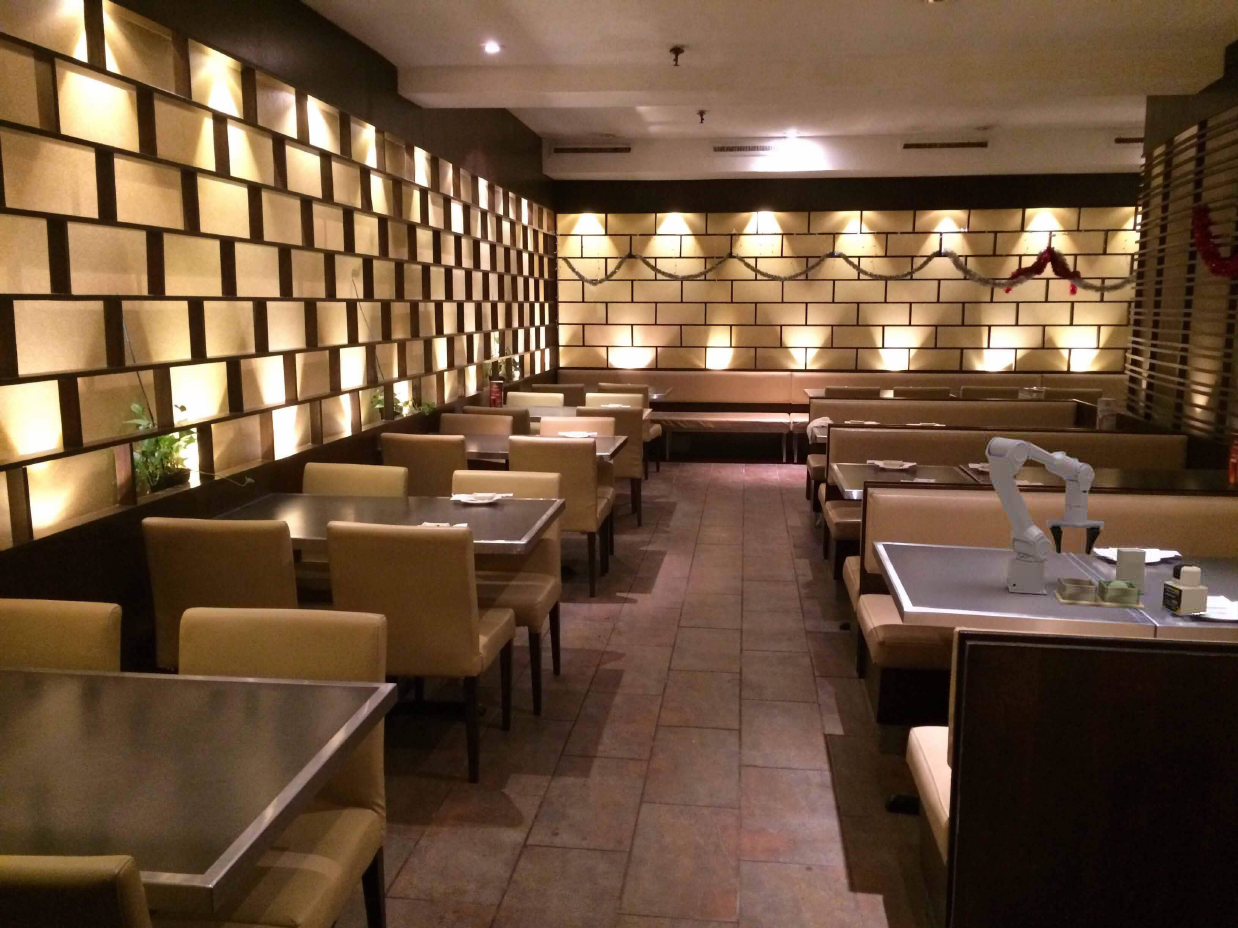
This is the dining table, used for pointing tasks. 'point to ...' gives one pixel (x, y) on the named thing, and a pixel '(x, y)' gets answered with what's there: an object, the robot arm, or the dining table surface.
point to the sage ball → (1118, 584)
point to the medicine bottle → (1185, 591)
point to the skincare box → (1131, 566)
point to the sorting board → (1087, 590)
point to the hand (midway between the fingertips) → (1073, 553)
